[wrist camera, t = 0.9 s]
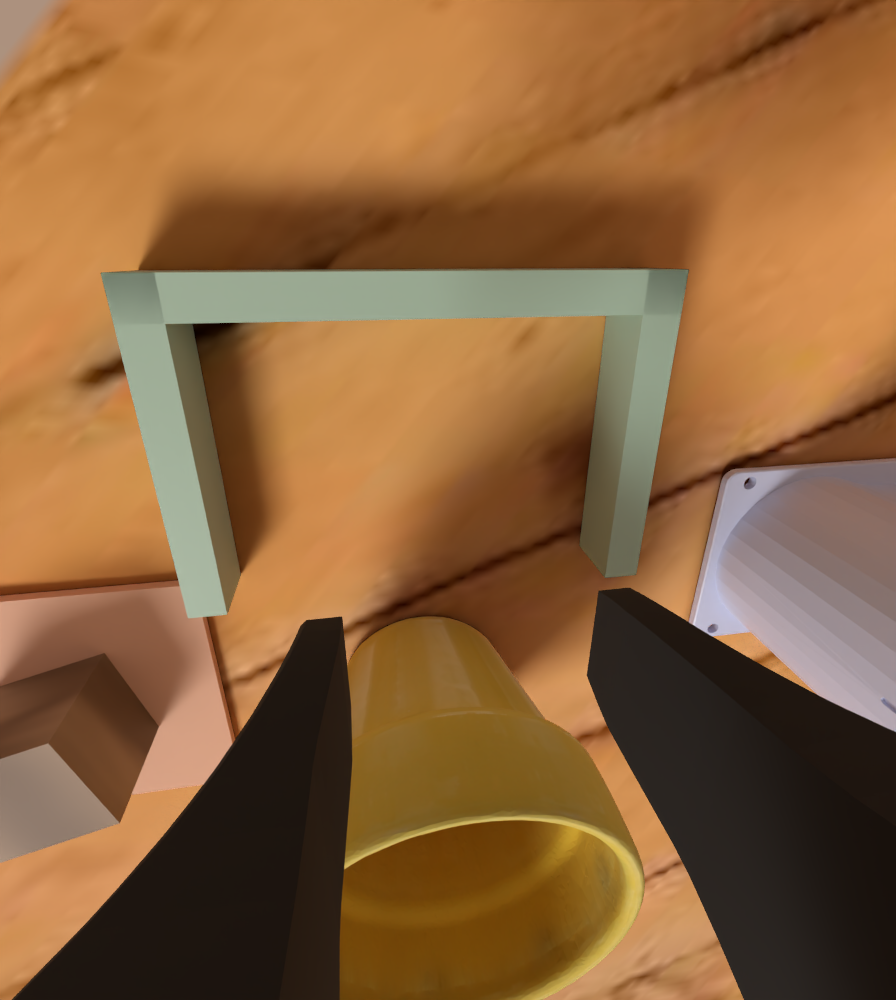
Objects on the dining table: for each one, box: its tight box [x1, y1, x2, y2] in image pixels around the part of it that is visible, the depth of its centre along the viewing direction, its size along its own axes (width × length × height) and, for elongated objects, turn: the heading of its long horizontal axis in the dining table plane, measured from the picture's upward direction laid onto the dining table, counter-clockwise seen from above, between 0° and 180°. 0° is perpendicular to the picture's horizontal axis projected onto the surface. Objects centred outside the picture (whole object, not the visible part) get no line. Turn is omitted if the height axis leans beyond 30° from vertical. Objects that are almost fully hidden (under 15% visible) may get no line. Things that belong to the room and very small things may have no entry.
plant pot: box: [340, 616, 645, 1000], centre depth 18 cm, size 10×10×10 cm
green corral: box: [101, 268, 689, 618], centre depth 17 cm, size 15×10×2 cm, turn 90°
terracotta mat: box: [0, 580, 235, 795], centre depth 20 cm, size 10×10×1 cm
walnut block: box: [0, 653, 159, 863], centre depth 18 cm, size 4×4×4 cm
